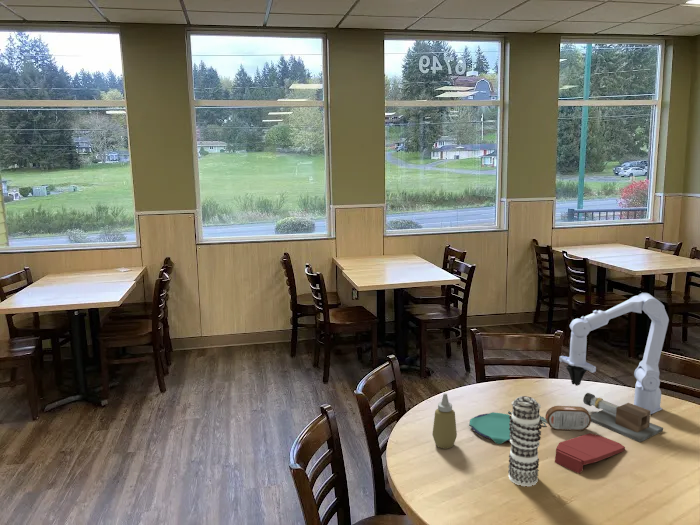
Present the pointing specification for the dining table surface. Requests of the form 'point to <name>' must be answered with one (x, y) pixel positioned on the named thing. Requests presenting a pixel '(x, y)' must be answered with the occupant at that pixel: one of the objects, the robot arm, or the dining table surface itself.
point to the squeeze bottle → (444, 424)
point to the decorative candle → (524, 441)
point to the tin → (568, 418)
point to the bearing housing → (628, 422)
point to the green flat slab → (494, 426)
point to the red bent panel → (585, 451)
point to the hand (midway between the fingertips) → (575, 384)
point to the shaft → (599, 403)
